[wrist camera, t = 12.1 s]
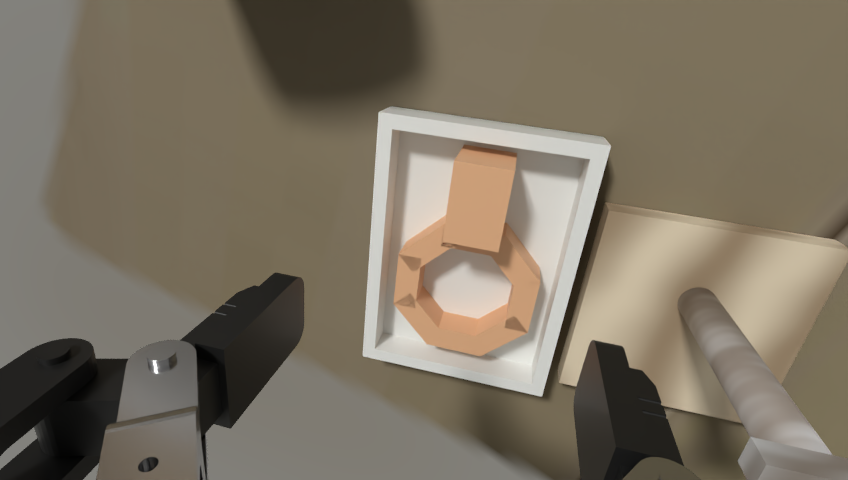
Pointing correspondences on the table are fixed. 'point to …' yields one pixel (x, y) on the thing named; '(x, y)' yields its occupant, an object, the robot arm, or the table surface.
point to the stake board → (690, 258)
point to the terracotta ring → (480, 233)
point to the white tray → (467, 271)
